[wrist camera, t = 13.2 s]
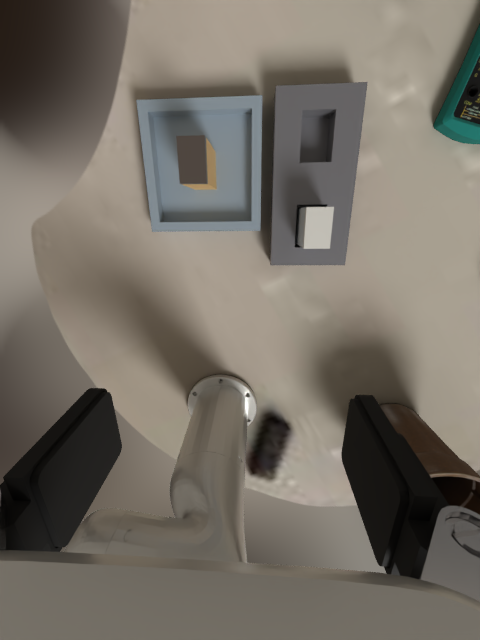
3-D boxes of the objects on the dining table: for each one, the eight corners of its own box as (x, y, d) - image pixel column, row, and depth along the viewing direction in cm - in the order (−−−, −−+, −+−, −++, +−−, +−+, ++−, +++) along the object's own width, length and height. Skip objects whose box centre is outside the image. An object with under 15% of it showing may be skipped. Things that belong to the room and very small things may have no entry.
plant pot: (357, 472, 55) (394, 568, 40) (326, 413, 51) (355, 497, 36) (441, 445, 52) (517, 540, 37) (416, 379, 47) (491, 457, 32)
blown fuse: (216, 189, 38) (206, 183, 30) (194, 189, 38) (179, 183, 30) (215, 151, 36) (204, 135, 29) (192, 151, 36) (176, 135, 29)
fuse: (316, 242, 39) (329, 248, 32) (294, 242, 40) (303, 248, 32) (318, 208, 38) (334, 206, 30) (296, 208, 38) (306, 207, 31)
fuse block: (337, 260, 41) (344, 265, 37) (269, 261, 41) (270, 265, 38) (356, 94, 34) (367, 82, 30) (274, 97, 34) (275, 85, 31)
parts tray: (260, 229, 40) (260, 230, 37) (158, 230, 41) (152, 231, 38) (261, 103, 34) (262, 95, 32) (144, 107, 35) (136, 99, 33)
